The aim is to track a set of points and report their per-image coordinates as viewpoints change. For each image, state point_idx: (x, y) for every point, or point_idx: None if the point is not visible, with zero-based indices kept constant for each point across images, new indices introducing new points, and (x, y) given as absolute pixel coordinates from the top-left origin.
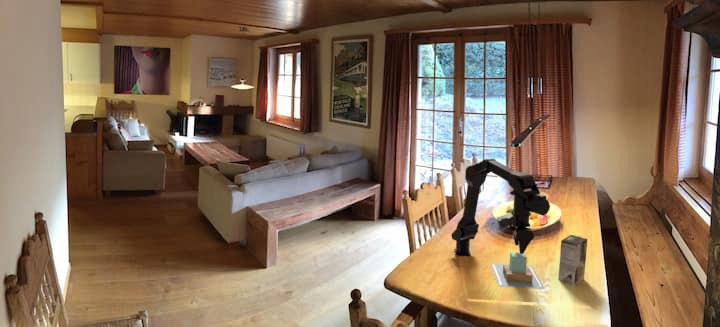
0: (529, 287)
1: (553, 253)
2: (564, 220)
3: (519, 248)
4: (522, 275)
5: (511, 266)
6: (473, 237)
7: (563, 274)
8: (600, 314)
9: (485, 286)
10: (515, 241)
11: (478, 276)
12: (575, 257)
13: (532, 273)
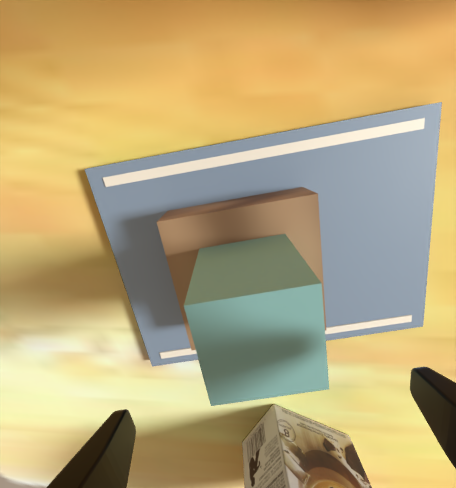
0: (139, 311)
1: None
2: None
3: (63, 479)
4: (179, 302)
5: (219, 256)
6: None
7: (268, 452)
8: (44, 480)
9: (84, 88)
10: (453, 411)
11: (225, 28)
12: None
13: None
